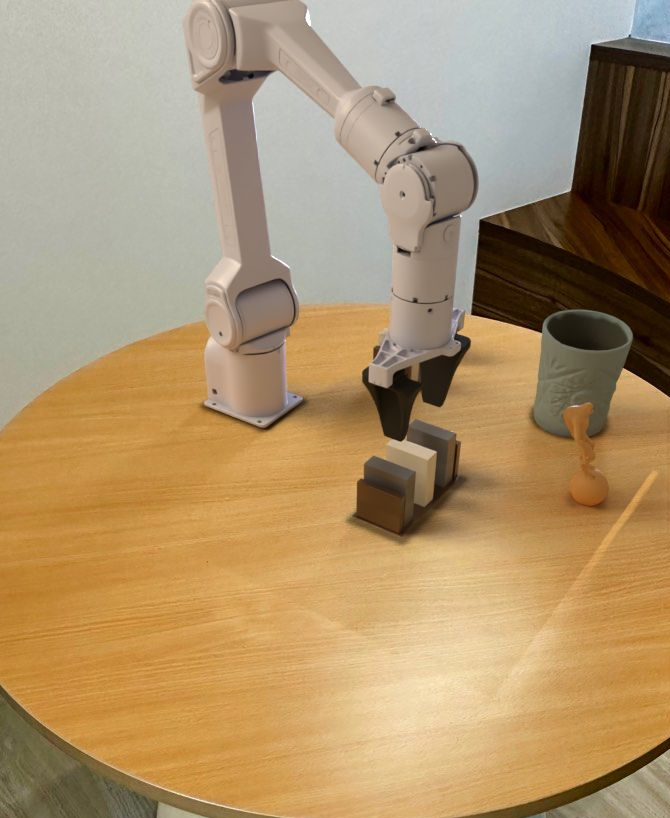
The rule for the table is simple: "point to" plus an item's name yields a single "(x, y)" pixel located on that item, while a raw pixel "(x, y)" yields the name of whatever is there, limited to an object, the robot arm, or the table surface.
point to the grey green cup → (579, 367)
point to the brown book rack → (406, 481)
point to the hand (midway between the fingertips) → (414, 419)
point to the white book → (415, 466)
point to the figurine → (585, 459)
